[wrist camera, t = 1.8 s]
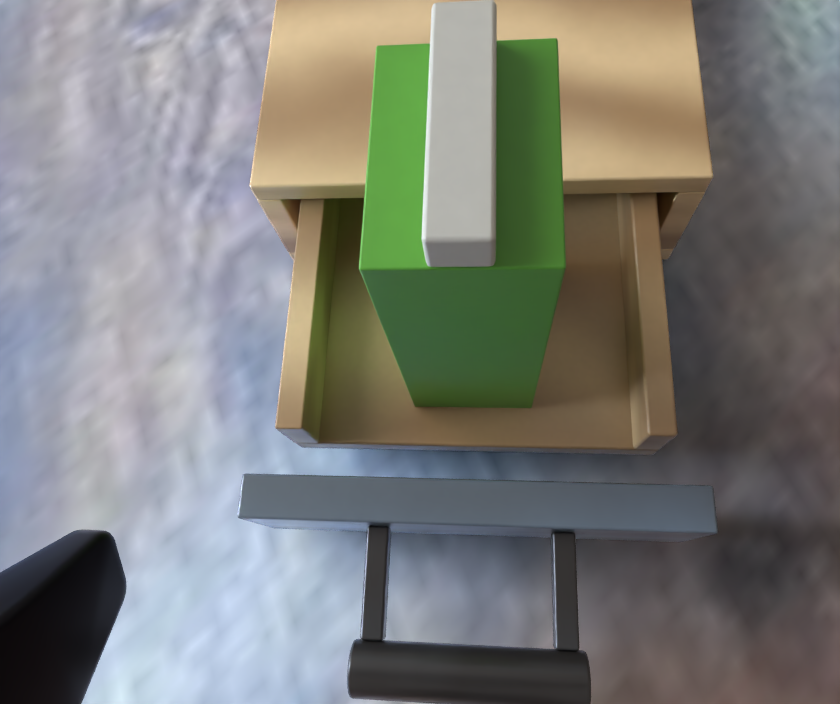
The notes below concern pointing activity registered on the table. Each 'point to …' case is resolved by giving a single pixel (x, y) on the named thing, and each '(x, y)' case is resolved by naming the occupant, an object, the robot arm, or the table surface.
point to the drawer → (482, 442)
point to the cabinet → (516, 19)
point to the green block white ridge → (465, 208)
